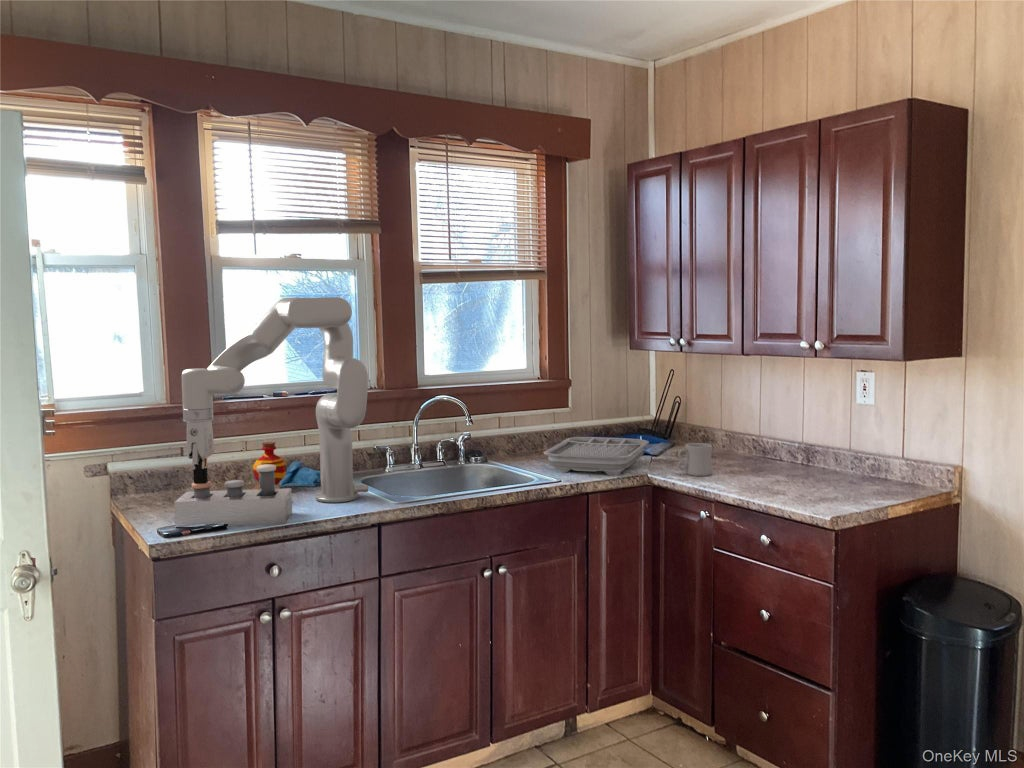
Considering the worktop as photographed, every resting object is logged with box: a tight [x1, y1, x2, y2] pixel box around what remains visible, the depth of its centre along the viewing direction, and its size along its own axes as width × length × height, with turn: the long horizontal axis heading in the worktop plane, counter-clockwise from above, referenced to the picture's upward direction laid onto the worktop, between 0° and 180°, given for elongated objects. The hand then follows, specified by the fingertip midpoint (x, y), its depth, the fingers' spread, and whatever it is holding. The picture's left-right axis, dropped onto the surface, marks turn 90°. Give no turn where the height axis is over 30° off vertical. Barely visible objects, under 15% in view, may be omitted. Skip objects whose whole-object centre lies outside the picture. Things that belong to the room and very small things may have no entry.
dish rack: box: [543, 436, 650, 476], centre depth 291 cm, size 32×37×8 cm
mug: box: [677, 442, 713, 477], centre depth 276 cm, size 12×9×10 cm
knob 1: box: [191, 480, 213, 498], centre depth 219 cm, size 5×5×8 cm
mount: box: [174, 487, 293, 528], centre depth 220 cm, size 28×12×7 cm, turn 97°
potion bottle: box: [252, 441, 287, 486], centre depth 257 cm, size 10×10×15 cm
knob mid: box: [224, 479, 245, 497], centre depth 220 cm, size 5×5×8 cm
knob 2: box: [257, 465, 276, 496], centre depth 221 cm, size 5×5×8 cm
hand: (200, 483), depth 218 cm, fingers closed
